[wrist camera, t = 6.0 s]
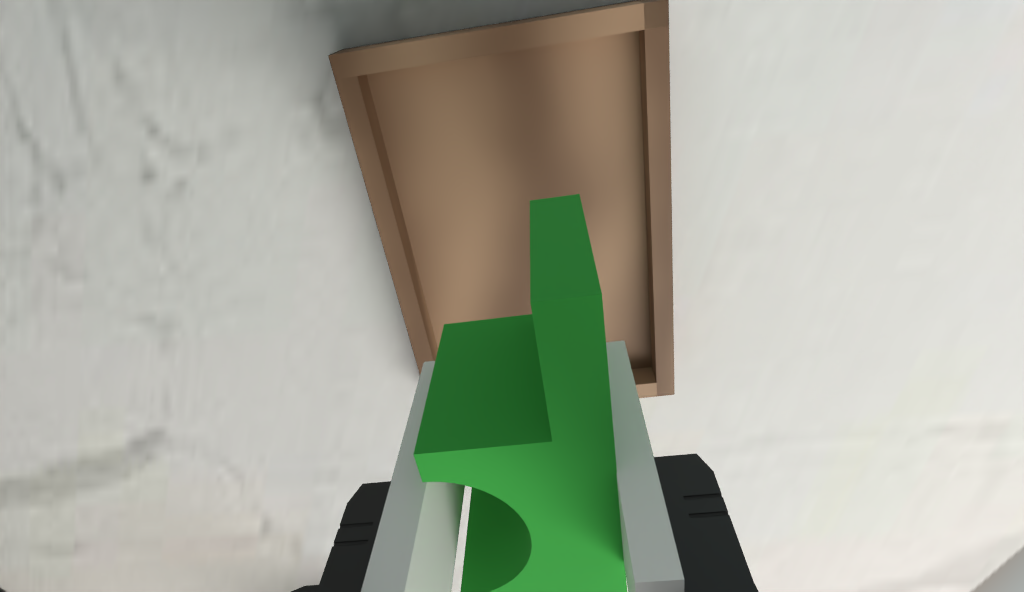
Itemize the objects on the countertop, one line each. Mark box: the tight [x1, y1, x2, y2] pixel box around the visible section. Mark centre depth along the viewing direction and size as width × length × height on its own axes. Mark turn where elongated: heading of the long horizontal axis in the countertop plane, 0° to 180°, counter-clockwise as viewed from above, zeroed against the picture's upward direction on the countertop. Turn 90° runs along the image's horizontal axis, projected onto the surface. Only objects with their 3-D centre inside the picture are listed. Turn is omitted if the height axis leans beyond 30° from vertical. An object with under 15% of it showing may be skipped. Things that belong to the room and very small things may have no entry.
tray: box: [328, 0, 674, 398], centre depth 24 cm, size 12×17×2 cm
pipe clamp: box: [413, 194, 627, 592], centre depth 14 cm, size 11×4×5 cm, turn 9°
